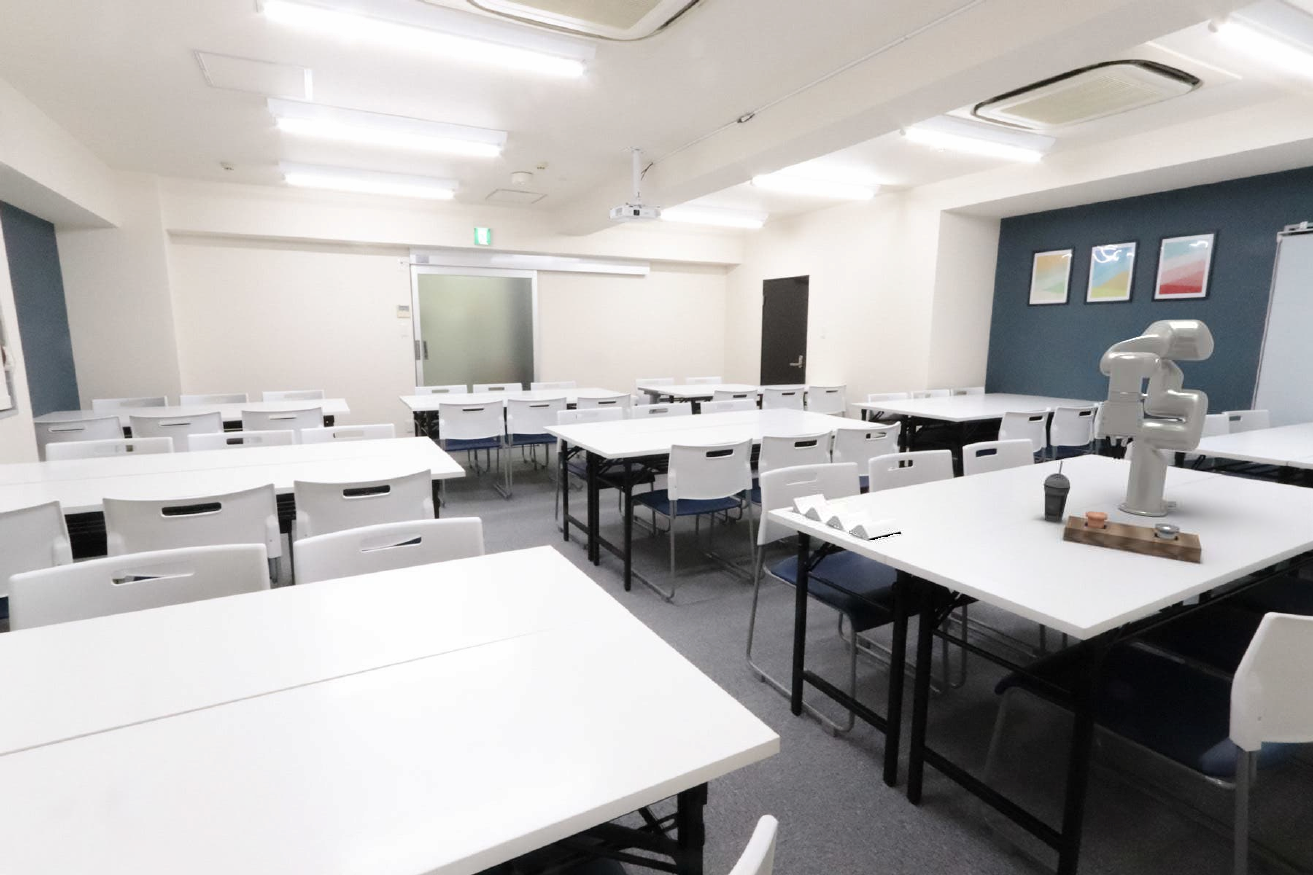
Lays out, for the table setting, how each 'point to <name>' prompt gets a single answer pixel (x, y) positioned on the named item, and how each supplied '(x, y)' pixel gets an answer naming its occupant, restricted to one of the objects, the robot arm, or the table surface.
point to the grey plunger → (1167, 531)
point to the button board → (1133, 539)
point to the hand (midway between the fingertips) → (1117, 458)
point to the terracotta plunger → (1096, 519)
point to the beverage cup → (1056, 496)
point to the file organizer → (844, 517)
